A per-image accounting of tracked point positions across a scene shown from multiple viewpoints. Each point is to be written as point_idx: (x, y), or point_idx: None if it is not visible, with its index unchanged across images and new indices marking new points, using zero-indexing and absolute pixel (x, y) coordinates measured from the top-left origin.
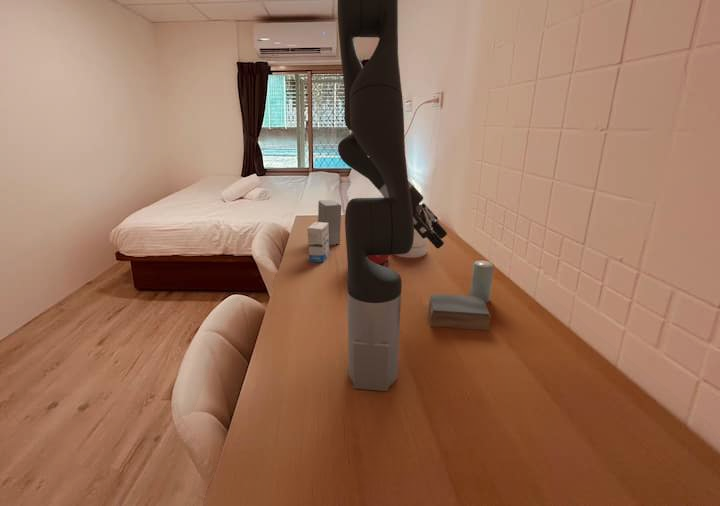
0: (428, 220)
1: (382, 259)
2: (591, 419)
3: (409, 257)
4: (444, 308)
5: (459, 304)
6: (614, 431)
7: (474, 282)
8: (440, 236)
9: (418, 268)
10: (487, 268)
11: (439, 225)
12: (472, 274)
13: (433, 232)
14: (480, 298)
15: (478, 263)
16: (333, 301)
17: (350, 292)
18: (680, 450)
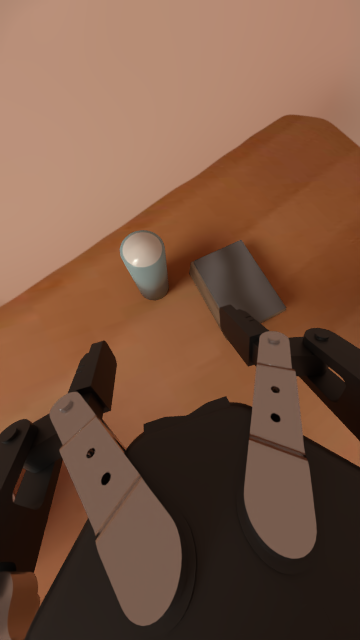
0: (285, 387)
1: None
2: (308, 164)
3: (14, 496)
4: (269, 295)
5: (241, 281)
6: (309, 153)
7: (164, 278)
8: (114, 364)
9: None
10: (160, 239)
11: (94, 377)
12: (154, 280)
13: (276, 332)
14: (201, 262)
15: (146, 259)
16: None
17: None
18: (297, 125)
